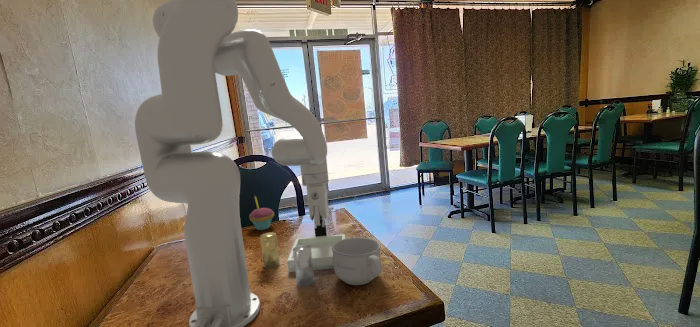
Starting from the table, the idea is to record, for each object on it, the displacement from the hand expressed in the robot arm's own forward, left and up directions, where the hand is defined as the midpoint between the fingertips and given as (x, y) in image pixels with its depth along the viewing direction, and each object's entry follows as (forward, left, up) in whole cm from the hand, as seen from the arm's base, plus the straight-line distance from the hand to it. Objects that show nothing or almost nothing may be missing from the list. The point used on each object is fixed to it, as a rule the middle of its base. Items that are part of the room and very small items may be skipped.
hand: (321, 239), depth 89 cm
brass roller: (-11, +12, -1) cm, 16 cm away
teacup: (-23, -10, -2) cm, 25 cm away
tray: (-9, 0, -1) cm, 9 cm away
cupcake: (+19, +22, -2) cm, 29 cm away
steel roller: (-21, +2, -1) cm, 21 cm away
